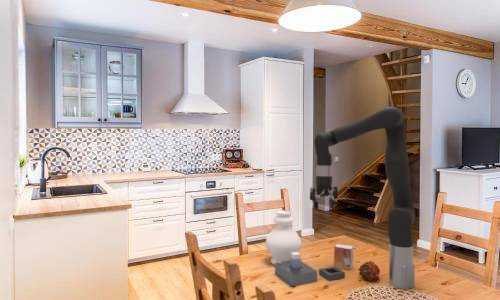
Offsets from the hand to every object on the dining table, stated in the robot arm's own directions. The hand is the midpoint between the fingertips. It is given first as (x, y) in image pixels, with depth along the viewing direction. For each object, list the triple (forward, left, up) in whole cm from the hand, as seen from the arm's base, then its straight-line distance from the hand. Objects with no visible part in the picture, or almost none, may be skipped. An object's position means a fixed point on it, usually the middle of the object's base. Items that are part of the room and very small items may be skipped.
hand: (323, 208), depth 172 cm
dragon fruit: (-20, -10, -28) cm, 36 cm away
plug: (-6, +19, -27) cm, 34 cm away
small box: (-5, -8, -28) cm, 30 cm away
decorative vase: (+14, +14, -28) cm, 35 cm away
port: (-6, +19, -28) cm, 34 cm away
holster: (-12, +4, -28) cm, 31 cm away
